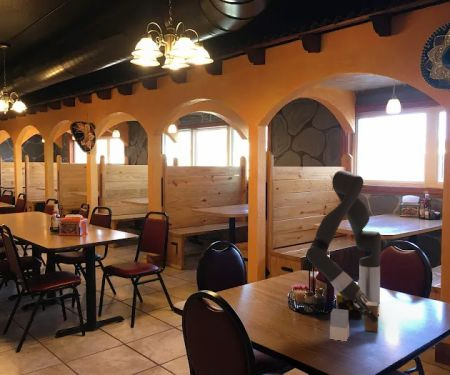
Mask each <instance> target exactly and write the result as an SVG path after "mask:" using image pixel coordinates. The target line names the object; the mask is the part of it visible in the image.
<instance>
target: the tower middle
mask: <svg viewBox="0 0 450 375" xmlns="http://www.w3.org/2000/svg"><path fill="white" fill-rule="evenodd" d="M348 323H349V319H348V310H342V309H337V308H332V310H331V312H330V325H331V326H332V327H340V328H346V327H347V325H348Z"/></svg>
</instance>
